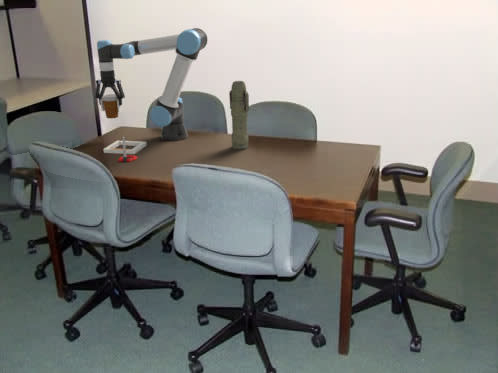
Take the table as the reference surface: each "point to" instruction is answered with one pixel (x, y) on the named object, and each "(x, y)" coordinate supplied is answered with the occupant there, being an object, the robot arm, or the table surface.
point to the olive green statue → (239, 114)
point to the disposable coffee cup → (110, 105)
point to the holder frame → (138, 145)
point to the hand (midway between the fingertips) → (111, 110)
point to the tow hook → (125, 157)
